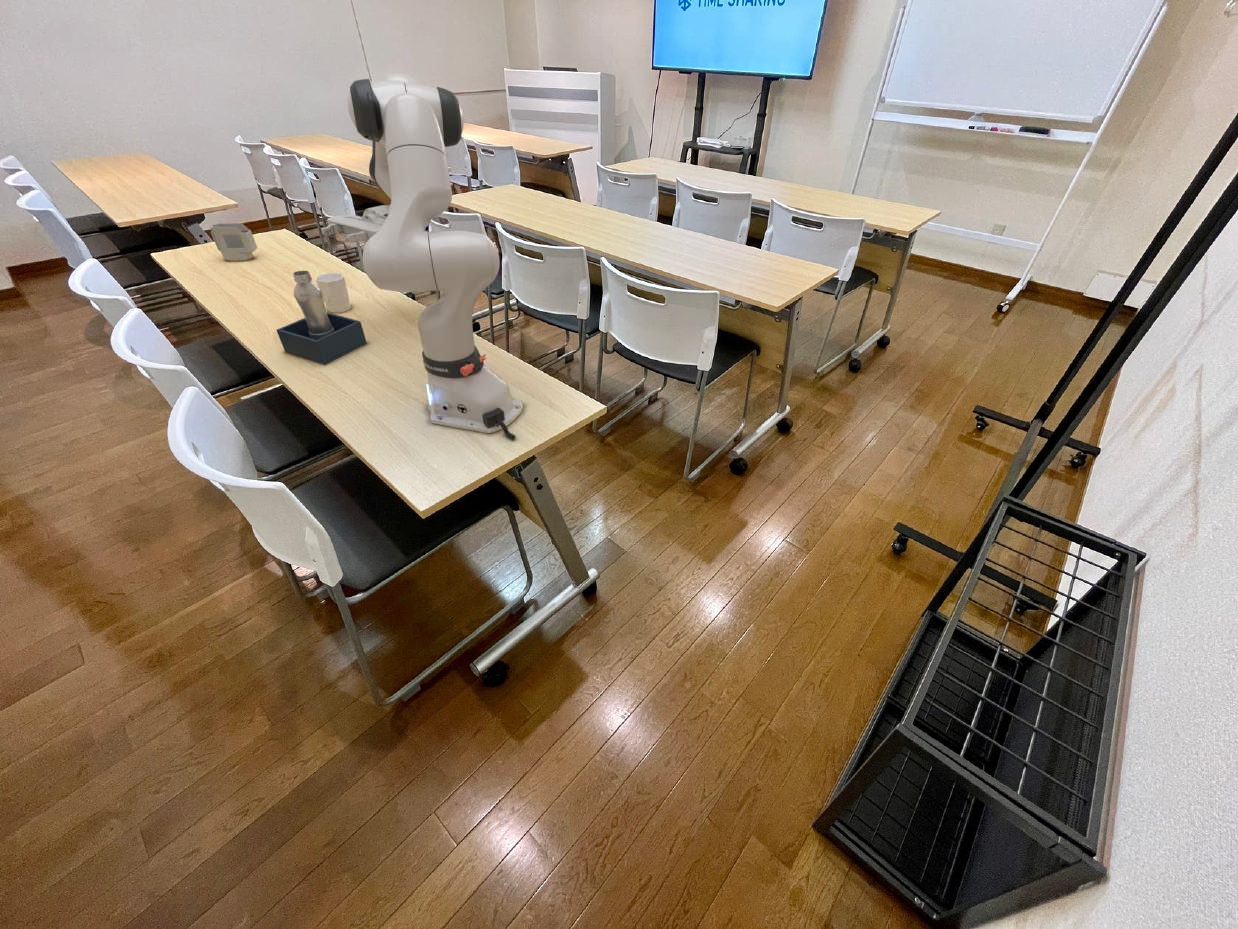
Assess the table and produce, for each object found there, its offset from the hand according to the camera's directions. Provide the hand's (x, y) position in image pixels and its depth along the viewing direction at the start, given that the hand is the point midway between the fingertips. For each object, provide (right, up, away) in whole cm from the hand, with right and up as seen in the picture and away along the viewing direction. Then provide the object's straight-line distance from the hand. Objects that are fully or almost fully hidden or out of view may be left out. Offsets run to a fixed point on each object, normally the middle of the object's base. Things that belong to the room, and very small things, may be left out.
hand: (335, 235), depth 135 cm
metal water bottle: (-7, -27, +9) cm, 29 cm away
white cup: (-15, -10, +29) cm, 35 cm away
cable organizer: (-68, +18, +61) cm, 93 cm away
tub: (-7, -27, +9) cm, 30 cm away
